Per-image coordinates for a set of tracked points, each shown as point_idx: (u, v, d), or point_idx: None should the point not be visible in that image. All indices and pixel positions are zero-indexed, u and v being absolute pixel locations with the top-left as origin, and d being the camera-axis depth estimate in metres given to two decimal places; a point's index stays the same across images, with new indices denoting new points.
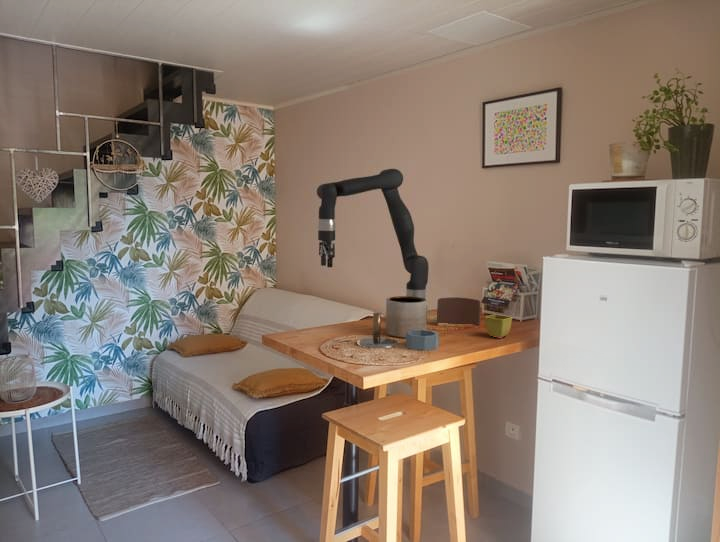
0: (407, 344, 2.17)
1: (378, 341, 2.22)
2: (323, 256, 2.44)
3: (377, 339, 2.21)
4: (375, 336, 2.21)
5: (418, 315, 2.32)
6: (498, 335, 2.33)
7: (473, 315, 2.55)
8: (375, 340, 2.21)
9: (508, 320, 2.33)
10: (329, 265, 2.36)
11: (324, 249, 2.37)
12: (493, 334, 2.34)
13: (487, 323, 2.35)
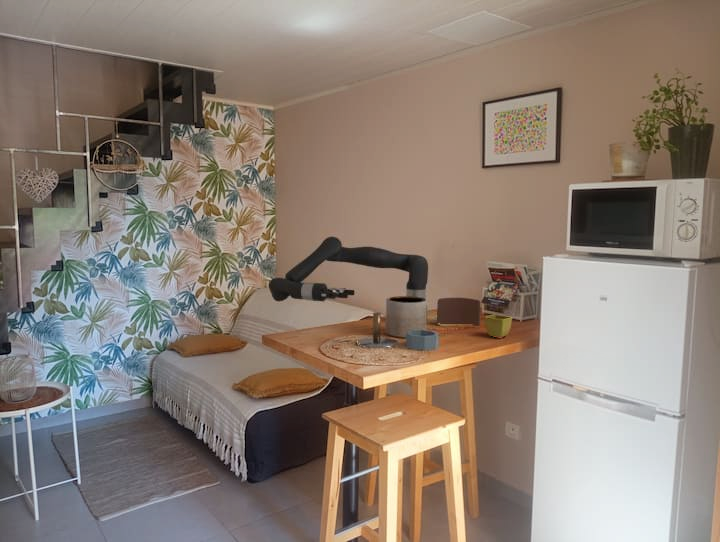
0: (407, 344, 2.17)
1: (378, 341, 2.22)
2: (344, 292, 2.29)
3: (377, 339, 2.21)
4: (375, 336, 2.21)
5: (418, 315, 2.32)
6: (498, 335, 2.33)
7: (473, 315, 2.54)
8: (375, 340, 2.21)
9: (508, 320, 2.33)
10: (344, 297, 2.19)
11: None
12: (493, 334, 2.34)
13: (487, 323, 2.35)
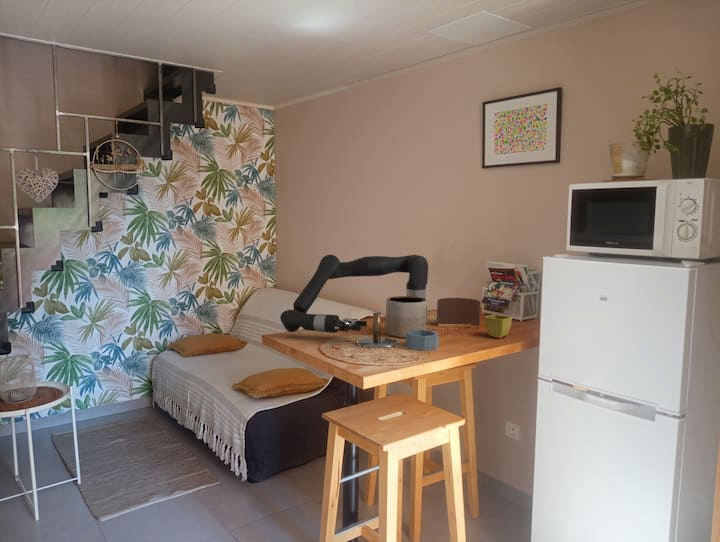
0: (407, 344, 2.17)
1: (378, 341, 2.22)
2: (357, 323, 2.29)
3: (377, 339, 2.21)
4: (375, 336, 2.21)
5: (418, 315, 2.32)
6: (498, 335, 2.33)
7: (473, 315, 2.54)
8: (375, 340, 2.21)
9: (508, 320, 2.33)
10: (357, 329, 2.19)
11: (344, 329, 2.25)
12: (493, 334, 2.34)
13: (487, 323, 2.35)
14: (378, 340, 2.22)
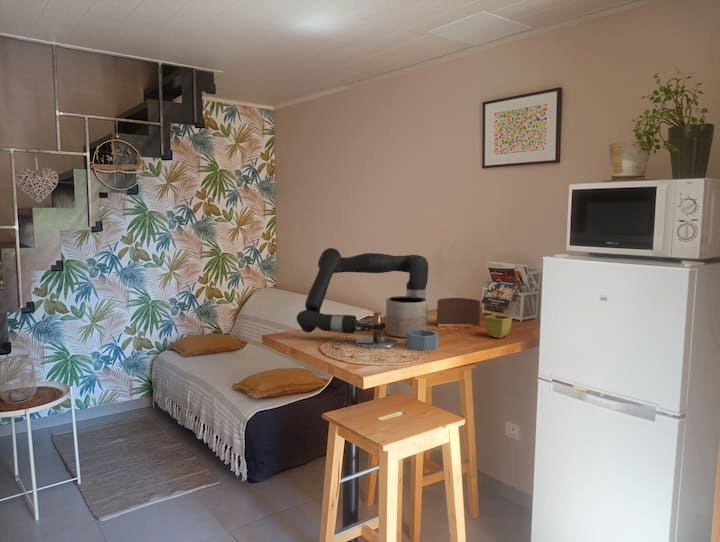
0: (407, 344, 2.17)
1: (378, 340, 2.21)
2: None
3: (377, 338, 2.21)
4: (375, 335, 2.21)
5: (418, 315, 2.32)
6: (498, 335, 2.33)
7: (473, 315, 2.54)
8: (375, 339, 2.21)
9: (508, 320, 2.33)
10: (380, 329, 2.19)
11: None
12: (493, 334, 2.34)
13: (487, 323, 2.35)
14: (378, 340, 2.21)
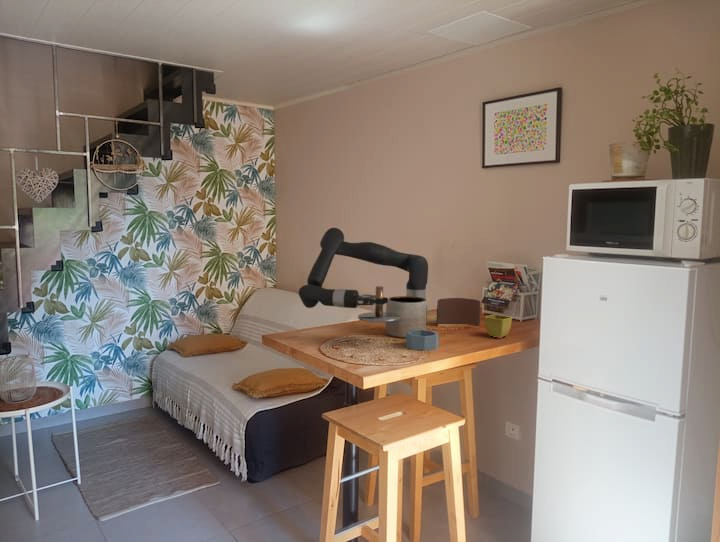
0: (407, 344, 2.17)
1: (380, 315, 2.20)
2: None
3: (379, 313, 2.20)
4: (377, 310, 2.20)
5: (418, 315, 2.32)
6: (498, 335, 2.33)
7: (473, 315, 2.54)
8: (377, 314, 2.20)
9: (508, 320, 2.33)
10: (382, 303, 2.18)
11: None
12: (493, 334, 2.34)
13: (487, 323, 2.35)
14: (380, 314, 2.20)
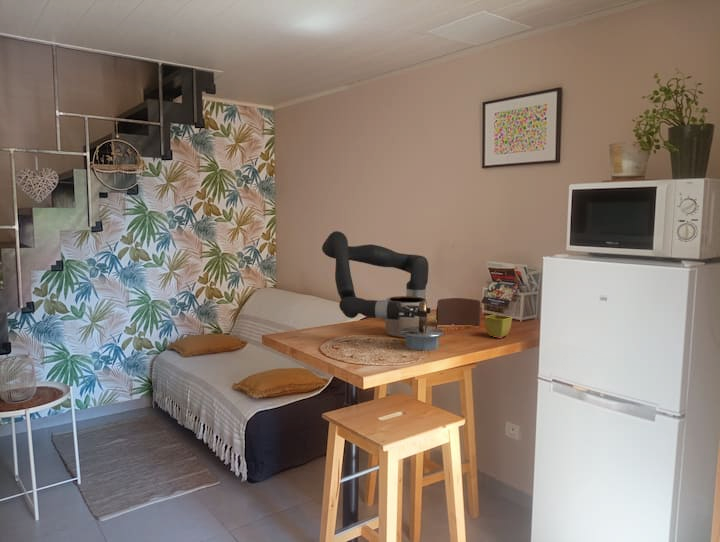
0: (407, 344, 2.17)
1: (424, 330, 2.17)
2: None
3: (423, 328, 2.16)
4: (421, 325, 2.16)
5: None
6: (498, 335, 2.33)
7: (473, 315, 2.54)
8: (421, 329, 2.17)
9: (508, 320, 2.33)
10: (423, 315, 2.12)
11: None
12: (493, 334, 2.34)
13: (487, 323, 2.35)
14: (424, 329, 2.17)
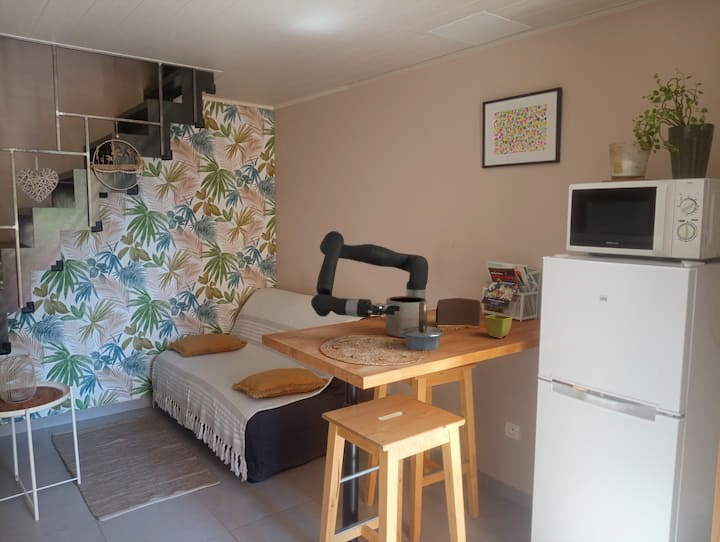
0: (407, 344, 2.17)
1: (424, 330, 2.17)
2: (389, 308, 2.25)
3: (423, 328, 2.16)
4: (421, 325, 2.16)
5: (418, 315, 2.32)
6: (498, 335, 2.33)
7: (473, 315, 2.54)
8: (421, 329, 2.17)
9: (508, 320, 2.33)
10: (391, 313, 2.16)
11: (377, 314, 2.21)
12: (493, 334, 2.34)
13: (487, 323, 2.35)
14: (424, 329, 2.17)
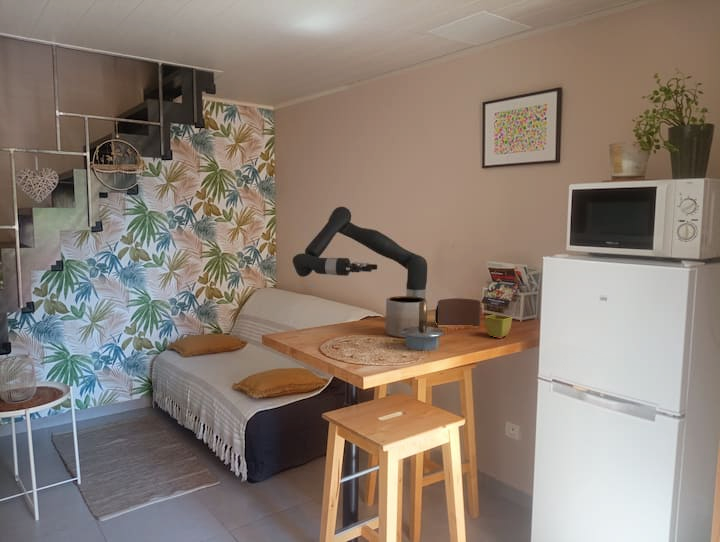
0: (407, 344, 2.17)
1: (424, 330, 2.17)
2: None
3: (423, 328, 2.16)
4: (421, 325, 2.16)
5: (418, 315, 2.32)
6: (498, 335, 2.33)
7: (473, 316, 2.53)
8: (421, 329, 2.17)
9: (508, 320, 2.33)
10: (368, 270, 2.24)
11: (355, 271, 2.29)
12: (493, 334, 2.34)
13: (487, 323, 2.35)
14: (424, 329, 2.17)
